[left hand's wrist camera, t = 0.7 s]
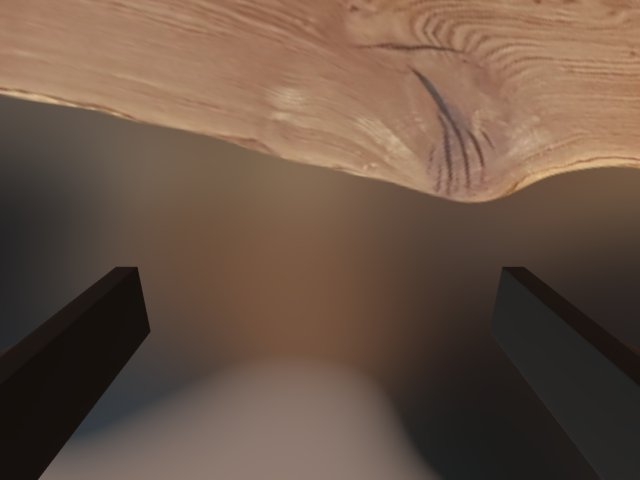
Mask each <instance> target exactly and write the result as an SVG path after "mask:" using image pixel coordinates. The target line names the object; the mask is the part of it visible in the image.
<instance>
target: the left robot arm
mask: <svg viewBox="0 0 640 480" xmlns="http://www.w3.org/2000/svg"><path fill="white" fill-rule="evenodd" d="M149 333H150V327H149V322H148V317H147V312H146V307H145V302H144V297H143V292H142V287H141V282H140V277H139V272H138V267H115V268H114V269H113V270H112V271H110V272H109V273H108V274H106V275H105V276H104V277H102V278H101V279H100V280H99V281H97V282H96V283H95V284H93V285H92V286H91V287H90V288H88V289H87V290H86V291H84V292H83V293H82V294H81V295H79V296H78V297H77V298H75V299H74V300H73V301H71V302H70V303H69V304H68V305H66V306H65V307H64V308H62V309H61V310H60V311H59V312H57V313H56V314H55V315H54V316H52V317H51V318H50V319H48V320H47V321H46V322H44V323H43V324H42V325H41V326H39V327H38V328H37V329H35V330H34V331H33V332H32V333H30V334H29V335H28V336H26V337H25V338H24V339H22V340H21V341H20V342H19V343H16V344H14V345H12V346H10V347H8V348H6V349H4V350H2V351H0V480H38V479H39V478H40V476H41V475H42V474H43V472H44V471H45V470H46V468H47V467H48V466H49V464H50V463H51V462H52V460H53V459H54V458H55V457H56V455H57V454H58V453H59V451H60V450H61V449H62V447H63V446H64V445H65V443H66V442H67V441H68V439H69V438H70V437H71V435H72V434H73V433H74V432H75V430H76V429H77V428H78V426H79V425H80V424H81V422H82V421H83V420H84V418H85V417H86V416H87V414H88V413H89V412H90V410H91V409H92V408H93V407H94V405H95V404H96V403H97V401H98V400H99V399H100V397H101V396H102V395H103V393H104V392H105V391H106V389H107V388H108V387H109V386H110V384H111V383H112V382H113V380H114V379H115V378H116V376H117V375H118V374H119V372H120V371H121V370H122V368H123V367H124V366H125V364H126V363H127V362H128V361H129V359H130V358H131V357H132V355H133V354H134V353H135V351H136V350H137V349H138V347H139V346H140V345H141V343H142V342H143V341H144V340H145V338H146V337H147V336H148V334H149ZM490 333H491V334H492V336H493V337H494V338H495V340H496V341H497V342H498V343H499V345H500V346H501V347H502V349H503V350H504V351H505V353H506V354H507V355H508V357H509V358H510V359H511V361H512V362H513V363H514V364H515V366H516V367H517V368H518V370H519V371H520V372H521V374H522V375H523V376H524V378H525V379H526V380H527V382H528V383H529V384H530V386H531V387H532V388H533V389H534V391H535V392H536V393H537V395H538V396H539V397H540V399H541V400H542V401H543V403H544V404H545V405H546V407H547V408H548V409H549V410H550V412H551V413H552V414H553V416H554V417H555V418H556V420H557V421H558V422H559V424H560V425H561V426H562V428H563V429H564V430H565V431H566V433H567V434H568V435H569V437H570V438H571V439H572V441H573V442H574V443H575V445H576V446H577V447H578V449H579V450H580V451H581V453H582V454H583V455H584V457H585V458H586V459H587V460H588V462H589V463H590V464H591V466H592V467H593V468H594V470H595V471H596V472H597V474H598V475H599V476H600V478H601V479H602V480H640V350H639V349H637V348H635V347H633V346H631V345H629V344H627V343H625V342H620V341H619V340H617V339H616V338H615V337H614V336H612V335H611V334H610V333H608V332H607V331H606V330H605V329H603V328H602V327H601V326H599V325H598V324H597V323H596V322H594V321H593V320H592V319H590V318H589V317H588V316H587V315H585V314H584V313H583V312H581V311H580V310H579V309H577V308H576V307H575V306H574V305H572V304H571V303H570V302H569V301H567V300H566V299H565V298H563V297H562V296H561V295H559V294H558V293H557V292H556V291H554V290H553V289H552V288H550V287H549V286H548V285H547V284H545V283H544V282H543V281H541V280H540V279H539V278H538V277H536V276H535V275H534V274H532V273H531V272H530V271H529V270H527V269H526V268H525V267H502V272H501V277H500V282H499V287H498V292H497V297H496V302H495V307H494V312H493V317H492V322H491V327H490Z"/></svg>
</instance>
